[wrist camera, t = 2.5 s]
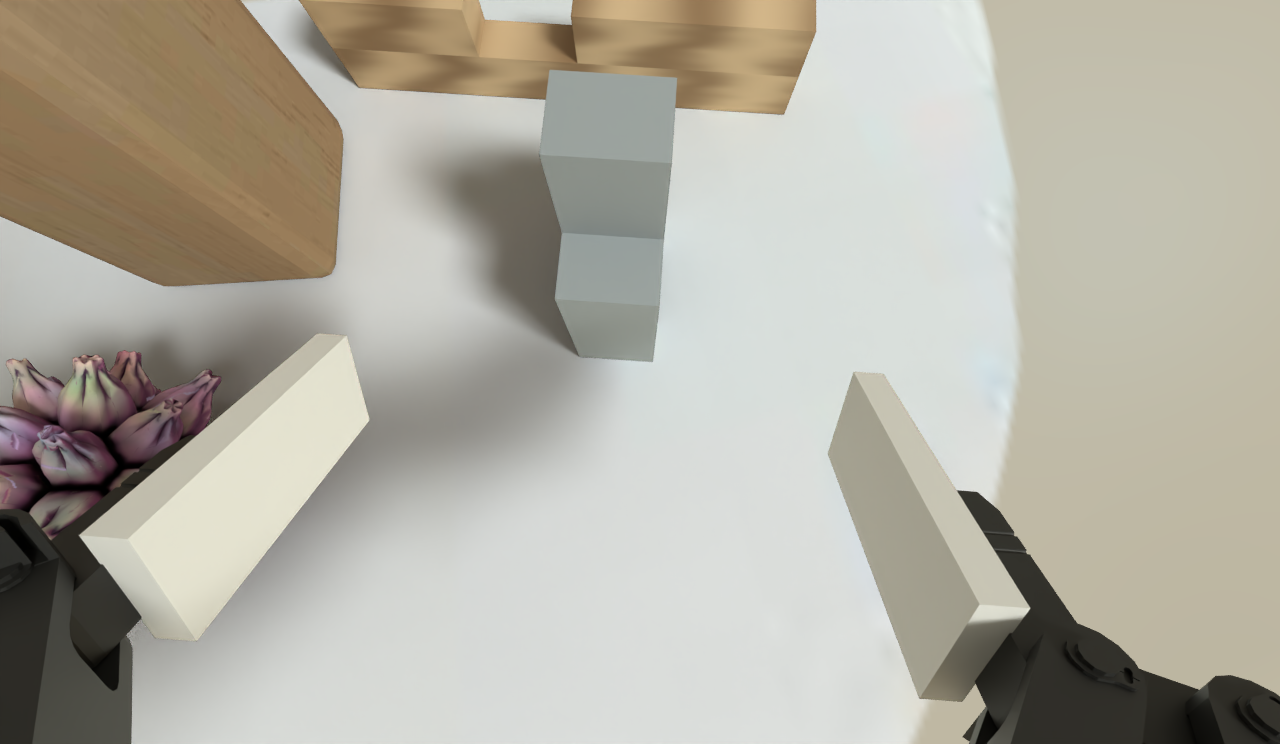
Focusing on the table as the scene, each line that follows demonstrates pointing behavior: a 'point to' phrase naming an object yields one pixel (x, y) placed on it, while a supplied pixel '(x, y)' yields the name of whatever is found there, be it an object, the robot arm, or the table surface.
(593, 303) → the grey stepped block
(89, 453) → the flower
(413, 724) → the table surface
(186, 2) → the wooden block
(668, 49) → the oak slotted plate
